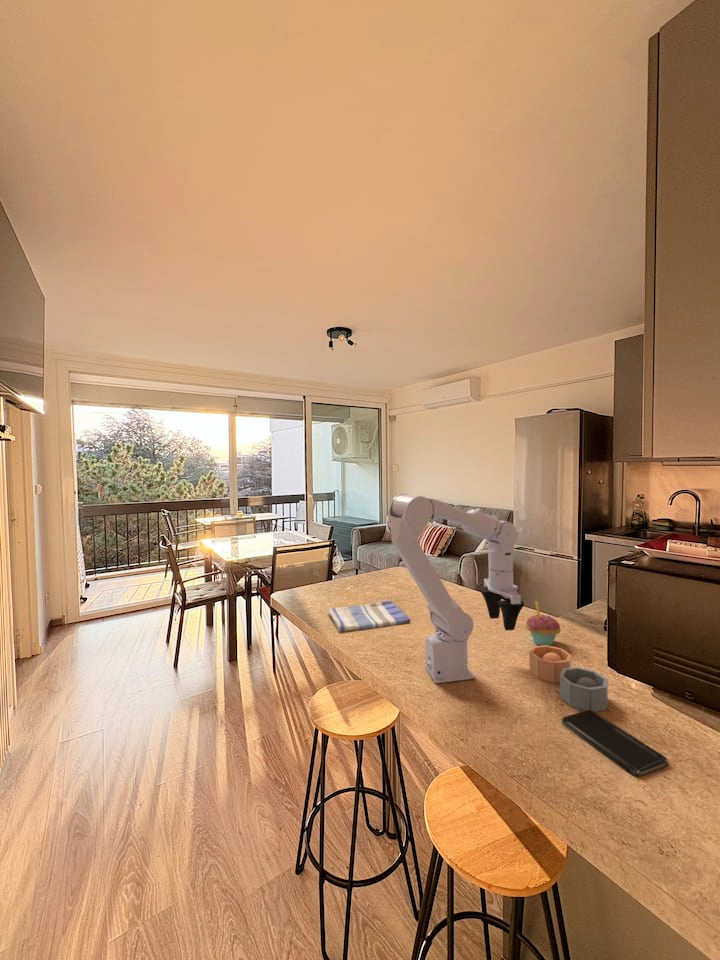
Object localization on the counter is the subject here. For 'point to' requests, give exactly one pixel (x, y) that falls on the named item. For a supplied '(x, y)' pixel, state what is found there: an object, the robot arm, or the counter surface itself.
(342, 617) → the dish towel
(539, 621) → the cupcake
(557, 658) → the terracotta ball
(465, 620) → the robot arm
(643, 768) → the phone
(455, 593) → the counter surface
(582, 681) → the charcoal ball
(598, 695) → the slate cup
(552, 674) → the terracotta octagonal bowl
